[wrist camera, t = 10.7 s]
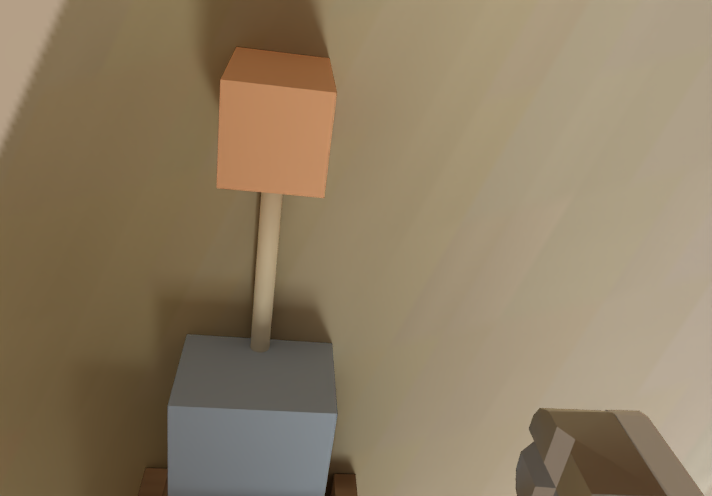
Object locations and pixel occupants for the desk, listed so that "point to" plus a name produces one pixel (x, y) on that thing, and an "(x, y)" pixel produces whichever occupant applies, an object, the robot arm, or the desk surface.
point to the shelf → (156, 483)
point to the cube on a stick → (261, 302)
